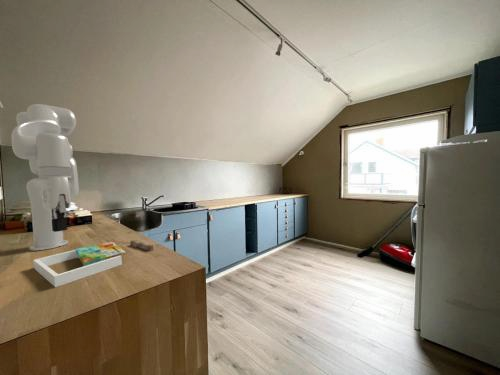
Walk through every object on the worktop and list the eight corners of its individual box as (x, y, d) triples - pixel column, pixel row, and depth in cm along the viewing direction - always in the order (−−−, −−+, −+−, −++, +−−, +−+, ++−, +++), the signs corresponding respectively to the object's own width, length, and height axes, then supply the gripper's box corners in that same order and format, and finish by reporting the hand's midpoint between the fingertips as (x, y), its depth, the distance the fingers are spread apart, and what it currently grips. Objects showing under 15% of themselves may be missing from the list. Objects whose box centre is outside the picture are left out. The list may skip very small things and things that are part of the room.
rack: (34, 268, 69) (33, 259, 69) (93, 252, 83) (93, 245, 83) (55, 287, 56) (54, 276, 56) (121, 264, 70) (121, 255, 70)
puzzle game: (111, 239, 86) (125, 249, 72) (112, 250, 86) (126, 262, 72) (75, 246, 77) (83, 260, 64) (76, 258, 78) (84, 274, 64)
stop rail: (130, 245, 91) (130, 240, 91) (133, 244, 92) (133, 240, 92) (150, 251, 83) (150, 246, 82) (153, 250, 84) (152, 245, 83)
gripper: (32, 175, 66) (37, 231, 66) (45, 171, 58) (50, 236, 58) (63, 174, 72) (67, 226, 73) (78, 172, 64) (83, 230, 64)
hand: (59, 230), depth 65 cm, fingers closed
